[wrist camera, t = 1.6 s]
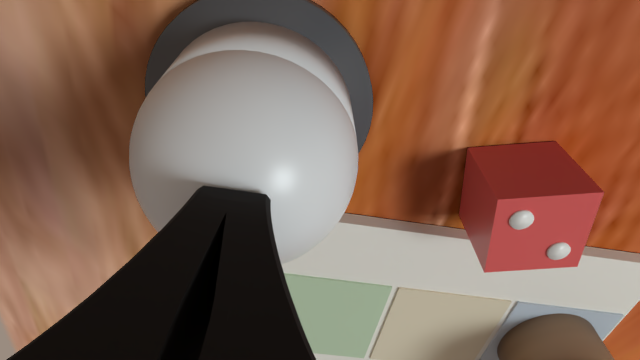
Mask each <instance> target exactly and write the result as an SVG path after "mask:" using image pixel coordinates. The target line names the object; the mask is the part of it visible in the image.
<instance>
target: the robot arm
mask: <svg viewBox="0 0 640 360" xmlns="http://www.w3.org/2000/svg"><path fill="white" fill-rule="evenodd" d="M7 360H316V358H315V356H314V354H313V351H312V349H311V347H310V344H309V342H308V340H307V337H306V335H305V332H304V330H303V327H302V325H301V322H300V319H299V317H298V314H297V311H296V308H295V306H294V303H293V300H292V297H291V294H290V291H289V288H288V285H287V282H286V279H285V275H284V272H283V268H282V265H281V261H280V258H279V254H278V250H277V246H276V242H275V237H274V232H273V226H272V219H271V199H270V198H269V197H268V196H267V195H266V194H261V193H254V192H247V191H239V190H232V189H225V188H218V187H211V186H204V185H203V186H202V187H200V188H199V189H197V190H196V191H195V193H194V194H193V195H192V196H191V198H190V199H189V200H188V201H187V202H186V203H185V204H184V206H183V207H182V208H181V209H180V210H179V211H178V212H177V213H176V215H175V216H174V217H173V218H172V219H171V220H170V221H169V222H168V223H167V224H166V225H165V226H164V227H163V228H162V229H161V230H160V231H159V232H158V233H157V234H156V235H155V236H154V237H153V238H152V239H151V240H150V241H149V242H148V243H147V244H146V245H145V246H144V247H143V248H142V249H141V250H140V251H139V252H138V253H137V254H136V255H135V256H134V257H133V258H132V259H131V260H130V261H129V262H128V263H126V264H125V265H124V266H123V267H122V268H121V269H120V270H119V271H117V272H116V273H115V274H114V275H113V276H112V277H111V278H109V279H108V280H107V281H106V282H105V283H104V284H103V285H102V286H100V287H99V288H98V289H97V290H96V291H95V292H94V293H93V294H91V295H90V296H89V297H88V298H87V299H85V300H84V301H83V302H82V303H80V304H79V305H78V306H77V307H76V308H74V309H73V310H72V311H71V312H69V313H68V314H67V315H66V316H64V317H63V318H62V319H61V320H59V321H58V322H57V323H56V324H54V325H53V326H52V327H50V328H49V329H48V330H46V331H45V332H44V333H42V334H41V335H40V336H38V337H37V338H36V339H35V340H33V341H32V342H31V343H29V344H28V345H26V346H25V347H24V348H22V349H21V350H20V351H18V352H17V353H15V354H14V355H13V356H11V357H10V358H8V359H7Z"/></svg>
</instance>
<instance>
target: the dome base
mask: <svg viewBox="0 0 640 360" xmlns="http://www.w3.org/2000/svg"><path fill="white" fill-rule="evenodd" d="M238 22H263V23H271V24H275V25H279V26H283V27H285V28H288V29H290V30H293V31H295V32H297V33H299V34H301V35H303V36H304V37H306V38H308V39H309V40H311V41H312V42H313V43H315V44H316V45H317V46H319V47H320V48H321V49H322V50H323V51H324V52H325V53H326V54H327V55H328V56H329V57H330V58H331V60H332V61H333V62H334V64H335V65H336V66H337V68H338V70H339V71H340V73H341V75H342V76H343V79H344V81H345V83H346V86H347V89H348V92H349V96H350V101H351V107H352V113H353V119H354V125H355V131H356V137H357V146H358V153H359V152H360V150H361V148H362V146H363V144H364V142H365V140H366V137H367V134H368V132H369V129H370V124H371V119H372V112H373V94H372V86H371V81H370V77H369V73H368V69H367V66H366V63H365V61H364V58H363V56H362V53H361V51H360V49H359V48H358V46H357V44H356V42H355V40H354V39H353V37H352V36H351V35H350V33H349V32H348V31H347V29H346V28H345V27H344V26H343V25H342V24H341V23H340V22H339V21H338V20H337V19H336V18H335V17H334V16H333V15H332V14H331V13H329V12H328V11H327V10H325V9H324V8H323V7H322V6H320V5H318V4H317V3H315V2H313V1H311V0H197V1H195V2H194V3H193V4H191V5H190V6H188V7H187V8H186V9H184V10H183V11H182V12H181V13H180V14H179V15H178V16H177V17H176V18H175V19H174V20H173V21H172V22H171V23H170V24H169V25H168V26H167V27H166V29H165V30H164V31H163V33H162V34H161V35H160V37H159V38H158V40H157V42H156V44H155V46H154V48H153V50H152V53H151V56H150V59H149V61H148V65H147V71H146V77H145V96H146V97H147V95H148V93H149V92H150V91H151V89H152V88H153V87H154V85H155V84H156V83H157V82H158V80H159V79H160V78H161V77H162V76H163V74H164V73H165V72H166V71H167V69H168V68H169V67H170V66H171V65H172V63H173V62H174V61H175V60H176V58H177V57H178V56H179V55H180V53H181V52H182V51H183V50H184V49H185V48H186V47H187V46H188V45H189V44H190V43H191V42H192V41H193V40H195V39H196V38H198V37H199V36H201V35H202V34H204V33H206V32H208V31H210V30H212V29H214V28H217V27H220V26H223V25H227V24H231V23H238Z"/></svg>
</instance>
